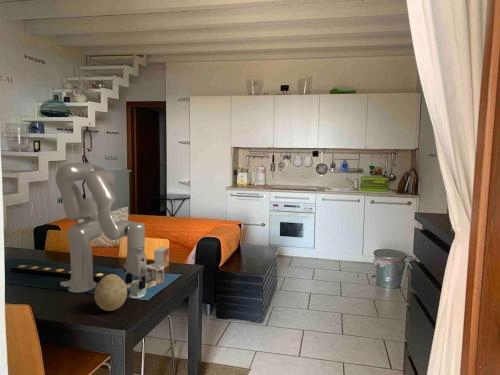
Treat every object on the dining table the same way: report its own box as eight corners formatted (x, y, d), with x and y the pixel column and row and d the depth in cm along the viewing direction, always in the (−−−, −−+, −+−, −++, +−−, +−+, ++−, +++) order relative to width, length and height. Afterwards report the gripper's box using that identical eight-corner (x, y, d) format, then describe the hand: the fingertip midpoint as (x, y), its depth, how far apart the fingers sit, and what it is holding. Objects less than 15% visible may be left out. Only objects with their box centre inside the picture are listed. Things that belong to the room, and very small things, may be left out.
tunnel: (132, 293, 167) (132, 276, 167) (121, 288, 173) (121, 272, 172) (164, 282, 182) (163, 266, 181) (152, 278, 187) (152, 263, 187)
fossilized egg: (133, 304, 156) (132, 270, 154) (117, 317, 143) (116, 281, 142) (105, 302, 158) (105, 268, 156) (88, 314, 145) (87, 278, 144)
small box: (163, 269, 202) (163, 251, 201) (154, 268, 203) (153, 250, 202) (169, 265, 210) (169, 247, 209) (160, 264, 211) (160, 246, 210)
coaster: (130, 299, 161) (130, 297, 161) (127, 293, 167) (127, 292, 167) (146, 296, 164) (146, 295, 164) (143, 291, 170) (143, 290, 170)
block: (137, 296, 162) (137, 286, 162) (130, 294, 165) (130, 283, 165) (146, 293, 166) (146, 282, 166) (139, 290, 169) (139, 280, 169)
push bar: (143, 286, 178) (143, 281, 177) (139, 284, 180) (139, 279, 179) (163, 279, 187) (162, 275, 187) (158, 278, 189) (158, 273, 189)
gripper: (154, 252, 161) (154, 288, 163) (131, 244, 172) (130, 279, 173) (140, 255, 155) (140, 293, 157) (117, 247, 166) (117, 283, 167)
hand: (135, 286), depth 165 cm, fingers open, 9 cm apart
